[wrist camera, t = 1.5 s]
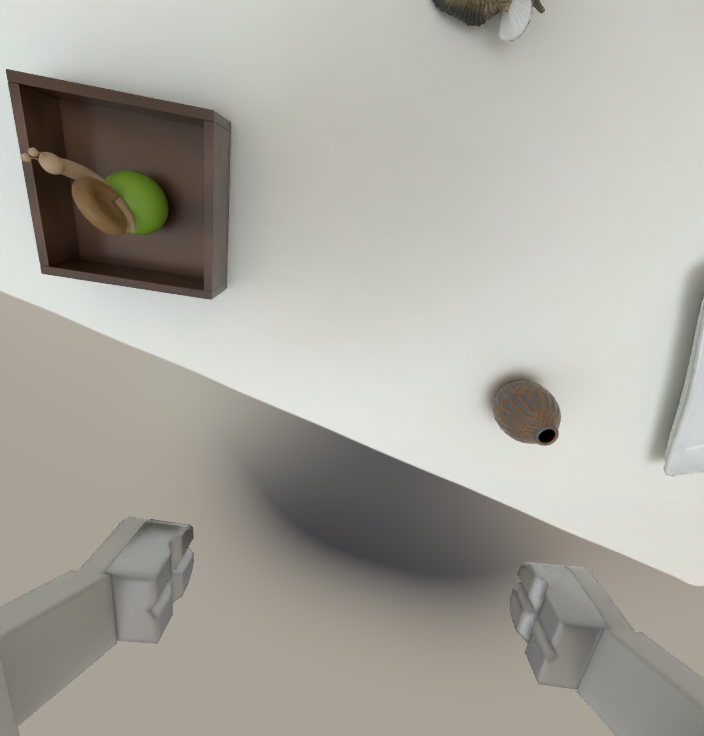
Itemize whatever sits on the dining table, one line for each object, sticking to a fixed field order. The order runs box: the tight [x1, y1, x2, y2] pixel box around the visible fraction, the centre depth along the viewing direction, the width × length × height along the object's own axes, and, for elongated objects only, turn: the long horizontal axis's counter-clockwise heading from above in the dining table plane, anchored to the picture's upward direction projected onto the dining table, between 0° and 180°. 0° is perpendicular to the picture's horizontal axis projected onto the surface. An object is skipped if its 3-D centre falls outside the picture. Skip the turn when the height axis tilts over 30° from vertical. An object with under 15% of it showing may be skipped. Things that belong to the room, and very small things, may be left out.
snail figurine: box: [21, 148, 168, 236], centre depth 31 cm, size 5×6×12 cm
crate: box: [6, 69, 231, 300], centre depth 34 cm, size 16×16×5 cm
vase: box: [493, 380, 561, 446], centre depth 43 cm, size 7×7×9 cm
